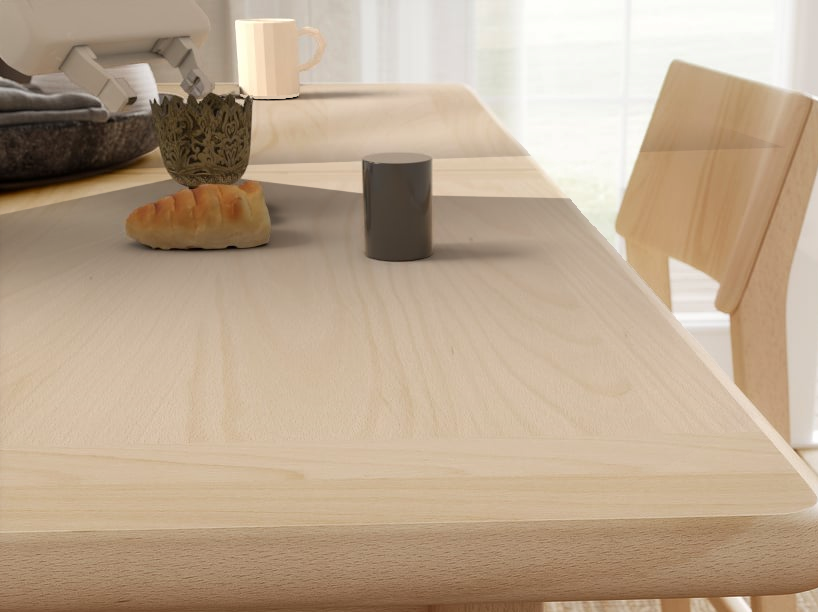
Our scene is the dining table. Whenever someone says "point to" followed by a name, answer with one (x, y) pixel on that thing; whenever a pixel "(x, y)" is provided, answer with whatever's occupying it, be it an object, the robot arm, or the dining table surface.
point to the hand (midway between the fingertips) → (168, 99)
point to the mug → (272, 56)
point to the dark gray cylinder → (397, 206)
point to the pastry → (204, 218)
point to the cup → (204, 138)
